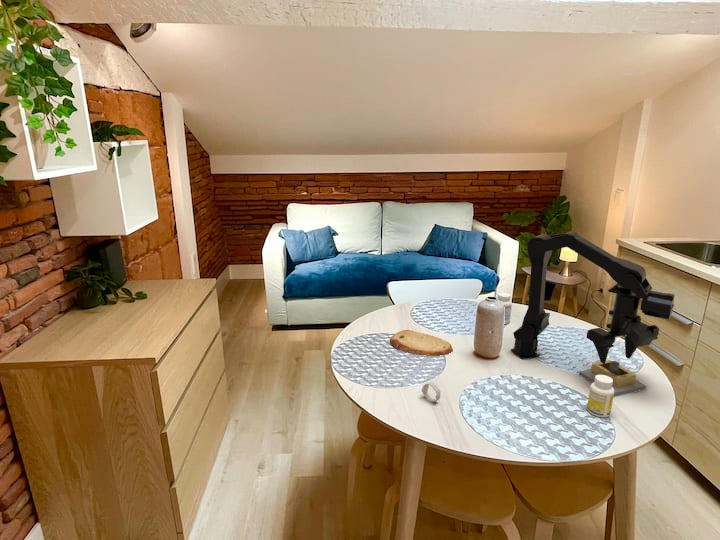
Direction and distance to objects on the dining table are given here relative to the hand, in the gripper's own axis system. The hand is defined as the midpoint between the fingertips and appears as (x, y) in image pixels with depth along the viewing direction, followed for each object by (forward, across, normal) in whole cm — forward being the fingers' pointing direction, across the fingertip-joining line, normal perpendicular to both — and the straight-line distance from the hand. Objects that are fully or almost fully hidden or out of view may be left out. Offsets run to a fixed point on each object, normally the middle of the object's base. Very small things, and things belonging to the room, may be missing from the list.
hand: (615, 360), depth 124 cm
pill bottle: (+7, -5, +46) cm, 47 cm away
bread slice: (+8, -43, +38) cm, 58 cm away
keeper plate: (+7, 0, 0) cm, 7 cm away
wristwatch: (+7, -54, +8) cm, 55 cm away
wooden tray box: (+6, 0, 0) cm, 6 cm away
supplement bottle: (+7, -15, -10) cm, 19 cm away
